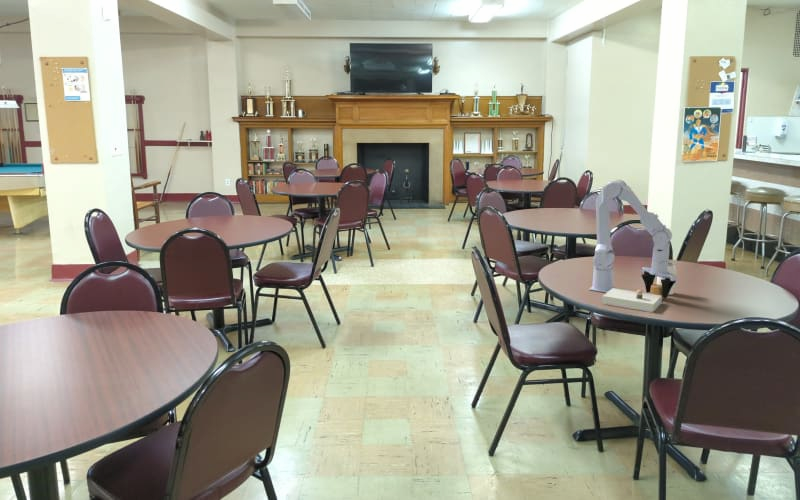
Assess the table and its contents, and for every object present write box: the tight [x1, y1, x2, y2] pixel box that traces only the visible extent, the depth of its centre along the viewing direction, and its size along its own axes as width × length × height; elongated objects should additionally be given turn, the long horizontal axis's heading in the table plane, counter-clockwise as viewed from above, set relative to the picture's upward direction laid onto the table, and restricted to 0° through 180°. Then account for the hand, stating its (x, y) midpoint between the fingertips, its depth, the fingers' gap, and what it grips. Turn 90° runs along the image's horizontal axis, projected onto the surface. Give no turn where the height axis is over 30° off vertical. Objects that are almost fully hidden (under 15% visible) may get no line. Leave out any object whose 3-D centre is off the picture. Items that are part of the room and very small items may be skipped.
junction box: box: [601, 287, 663, 313], centre depth 234 cm, size 14×18×6 cm
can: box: [656, 261, 677, 296], centre depth 249 cm, size 6×6×12 cm
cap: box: [649, 283, 664, 301], centre depth 242 cm, size 5×5×5 cm
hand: (656, 294), depth 242 cm, fingers open, 7 cm apart
